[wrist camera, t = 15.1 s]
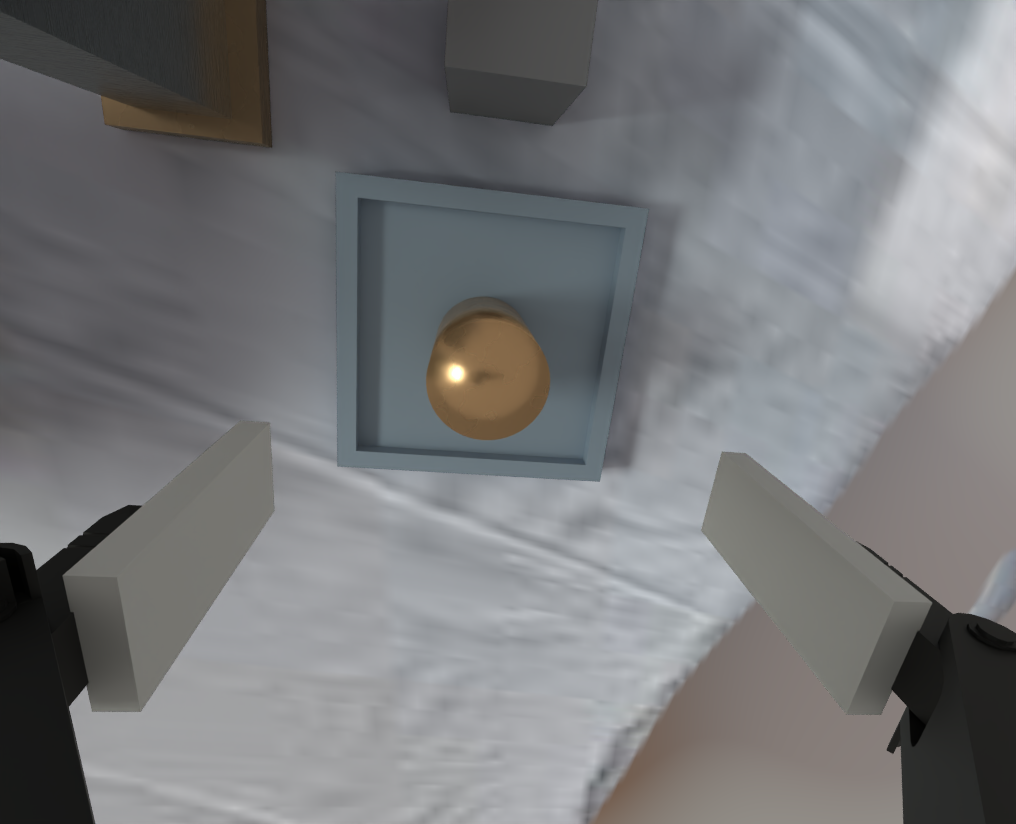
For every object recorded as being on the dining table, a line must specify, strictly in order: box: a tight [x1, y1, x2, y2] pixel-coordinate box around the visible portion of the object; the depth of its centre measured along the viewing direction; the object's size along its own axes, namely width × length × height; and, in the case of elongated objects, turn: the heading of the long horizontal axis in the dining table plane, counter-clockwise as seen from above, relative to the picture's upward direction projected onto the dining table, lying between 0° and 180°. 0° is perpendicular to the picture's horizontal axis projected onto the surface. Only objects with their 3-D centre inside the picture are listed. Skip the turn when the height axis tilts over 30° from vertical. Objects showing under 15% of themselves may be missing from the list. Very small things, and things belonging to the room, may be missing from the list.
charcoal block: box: [445, 0, 598, 126], centre depth 25 cm, size 6×6×9 cm
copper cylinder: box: [426, 296, 550, 440], centre depth 29 cm, size 6×6×9 cm
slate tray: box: [336, 172, 649, 482], centre depth 33 cm, size 18×18×2 cm
